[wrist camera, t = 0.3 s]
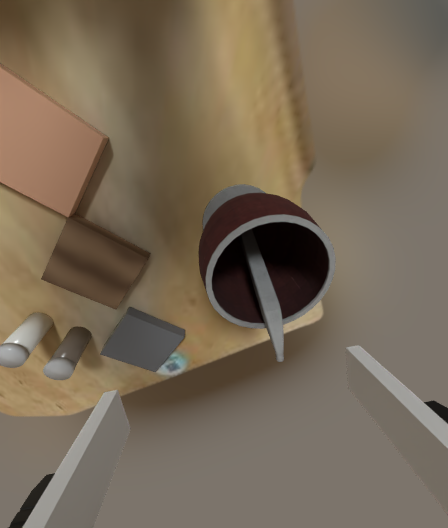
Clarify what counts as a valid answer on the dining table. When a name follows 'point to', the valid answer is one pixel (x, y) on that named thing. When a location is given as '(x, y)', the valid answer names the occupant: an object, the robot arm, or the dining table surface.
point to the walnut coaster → (94, 262)
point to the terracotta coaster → (44, 146)
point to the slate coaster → (142, 340)
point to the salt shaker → (24, 340)
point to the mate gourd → (263, 260)
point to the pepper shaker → (67, 354)
